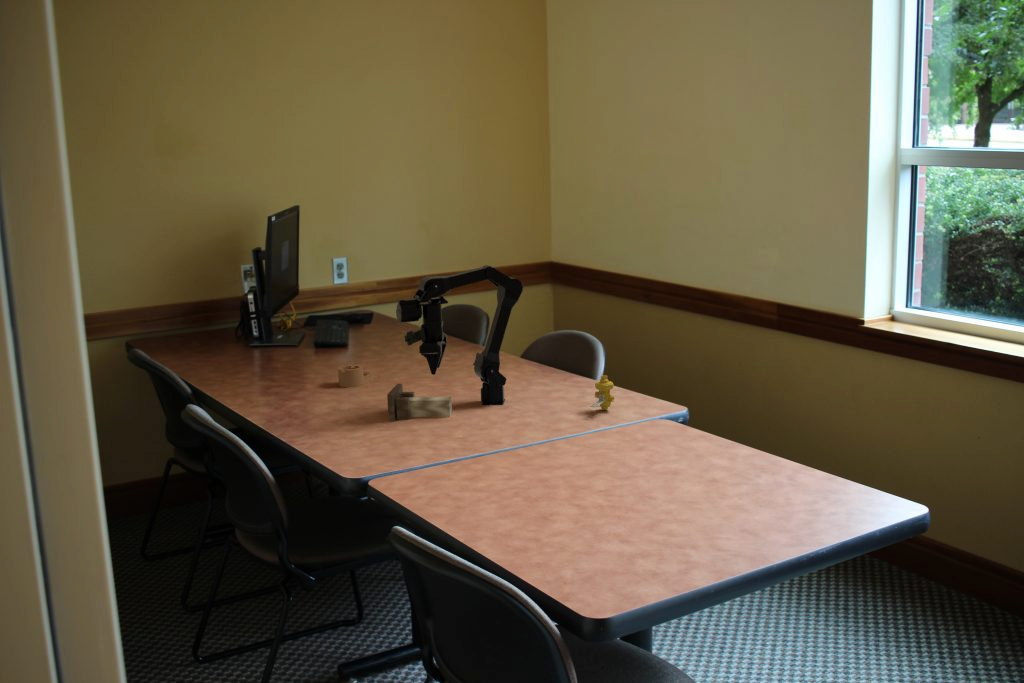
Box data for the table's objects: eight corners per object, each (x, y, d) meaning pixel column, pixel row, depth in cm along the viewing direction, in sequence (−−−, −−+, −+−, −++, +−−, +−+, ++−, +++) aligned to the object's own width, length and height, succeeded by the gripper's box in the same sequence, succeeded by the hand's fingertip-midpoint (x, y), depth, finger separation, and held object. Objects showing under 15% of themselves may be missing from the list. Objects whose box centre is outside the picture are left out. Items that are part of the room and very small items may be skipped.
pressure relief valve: (616, 407, 294) (615, 374, 293) (602, 417, 284) (602, 383, 282) (598, 406, 297) (598, 373, 295) (584, 416, 286) (583, 381, 284)
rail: (451, 413, 294) (451, 396, 293) (450, 416, 290) (449, 400, 289) (401, 413, 295) (401, 397, 294) (399, 417, 291) (398, 400, 290)
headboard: (416, 409, 300) (415, 383, 298) (407, 421, 286) (406, 394, 285) (398, 409, 300) (397, 383, 299) (388, 421, 287) (387, 394, 285)
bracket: (357, 391, 328) (356, 370, 326) (334, 390, 330) (333, 369, 329) (380, 379, 344) (379, 359, 343) (359, 378, 347) (358, 358, 346)
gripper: (410, 315, 304) (413, 365, 306) (400, 325, 285) (403, 378, 288) (446, 314, 303) (449, 364, 306) (438, 324, 285) (441, 377, 287)
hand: (435, 371), depth 297 cm, fingers open, 9 cm apart
